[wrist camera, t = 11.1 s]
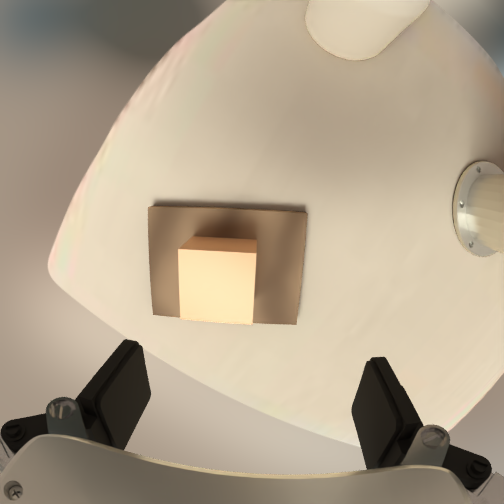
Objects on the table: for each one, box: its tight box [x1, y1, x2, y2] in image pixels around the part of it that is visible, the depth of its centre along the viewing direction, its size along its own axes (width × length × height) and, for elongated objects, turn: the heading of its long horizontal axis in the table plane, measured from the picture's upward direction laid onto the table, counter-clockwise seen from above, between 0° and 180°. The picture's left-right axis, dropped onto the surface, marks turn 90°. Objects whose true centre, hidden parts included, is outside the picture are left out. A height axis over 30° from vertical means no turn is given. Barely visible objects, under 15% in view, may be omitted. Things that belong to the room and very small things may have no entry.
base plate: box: [148, 206, 307, 325], centre depth 28 cm, size 16×12×5 cm
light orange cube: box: [178, 236, 257, 325], centre depth 27 cm, size 6×6×6 cm
